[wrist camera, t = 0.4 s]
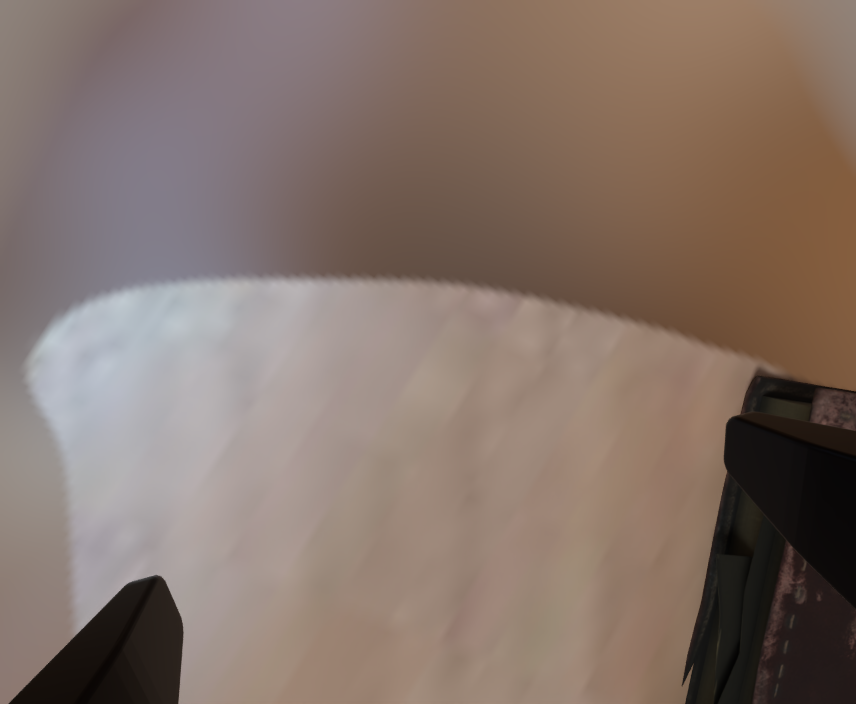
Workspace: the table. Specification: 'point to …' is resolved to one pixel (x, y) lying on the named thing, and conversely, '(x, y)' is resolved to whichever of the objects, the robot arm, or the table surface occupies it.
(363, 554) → the table surface
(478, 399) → the table surface
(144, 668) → the robot arm
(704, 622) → the diary
